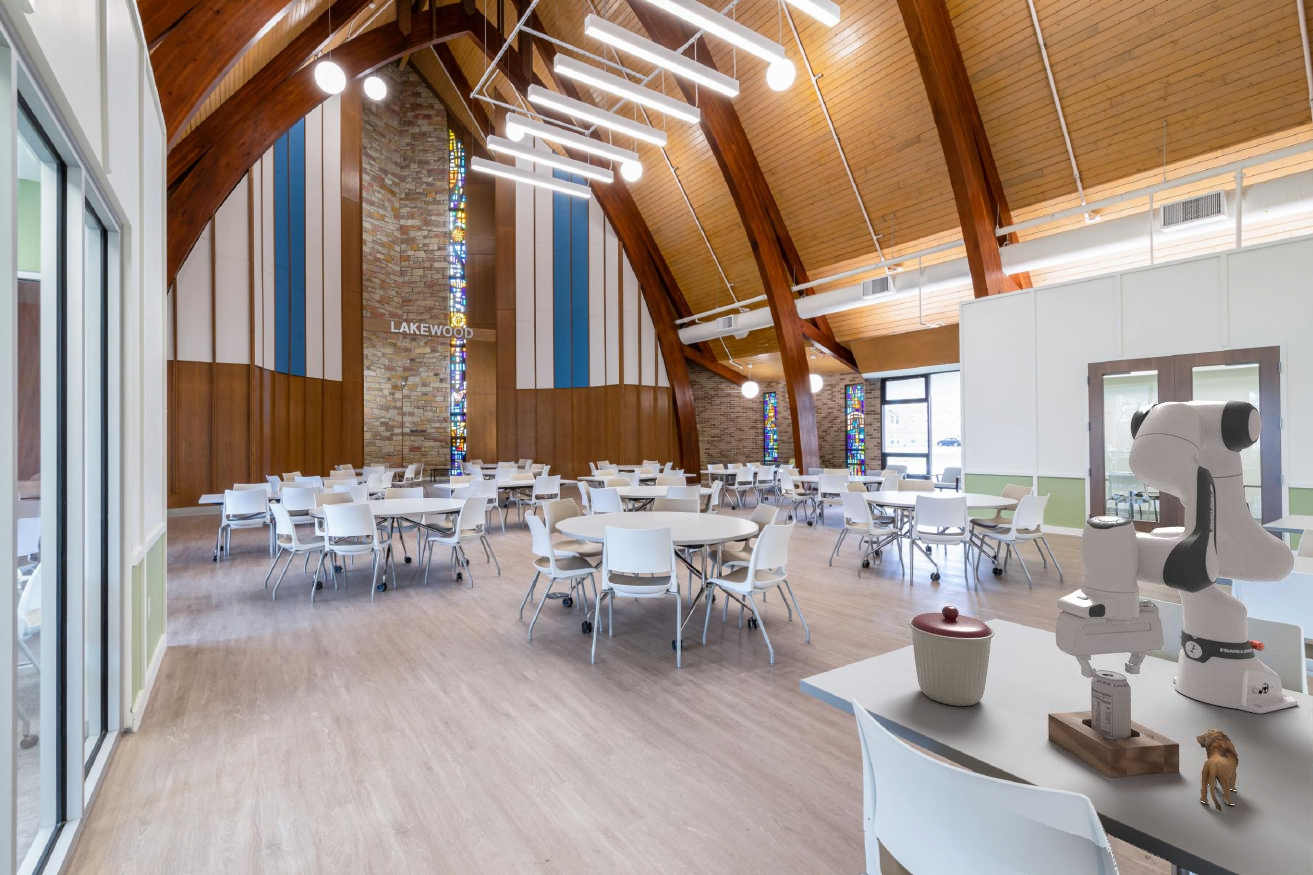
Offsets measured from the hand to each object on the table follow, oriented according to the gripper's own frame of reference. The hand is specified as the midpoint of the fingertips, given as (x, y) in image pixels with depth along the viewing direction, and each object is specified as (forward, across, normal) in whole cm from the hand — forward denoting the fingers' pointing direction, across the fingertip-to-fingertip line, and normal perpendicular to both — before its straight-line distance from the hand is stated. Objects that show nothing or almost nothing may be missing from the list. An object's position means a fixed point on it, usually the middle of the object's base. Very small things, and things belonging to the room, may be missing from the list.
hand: (1110, 674), depth 114 cm
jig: (+15, 0, 0) cm, 15 cm away
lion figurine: (+15, -6, +14) cm, 21 cm away
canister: (+15, +15, -28) cm, 35 cm away
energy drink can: (+15, 0, 0) cm, 15 cm away
